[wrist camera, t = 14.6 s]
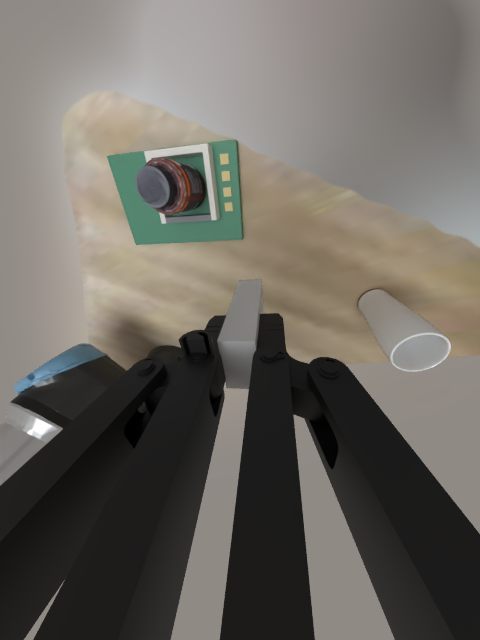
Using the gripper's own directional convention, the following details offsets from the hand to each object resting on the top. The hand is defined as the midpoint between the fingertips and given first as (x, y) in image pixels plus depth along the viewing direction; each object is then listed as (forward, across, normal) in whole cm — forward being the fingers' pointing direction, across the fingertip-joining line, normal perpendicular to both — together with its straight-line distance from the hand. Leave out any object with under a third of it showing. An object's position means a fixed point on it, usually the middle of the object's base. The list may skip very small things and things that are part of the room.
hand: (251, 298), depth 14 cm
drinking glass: (+25, +20, -14) cm, 35 cm away
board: (+25, -13, +7) cm, 29 cm away
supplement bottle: (+24, -11, +8) cm, 28 cm away
